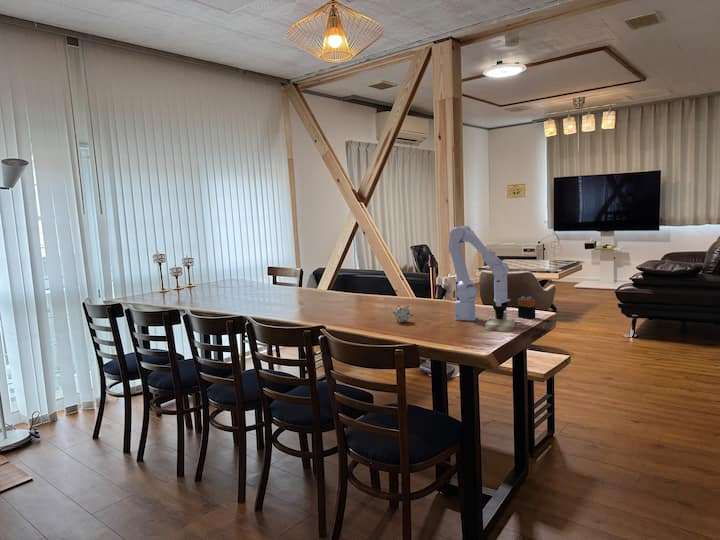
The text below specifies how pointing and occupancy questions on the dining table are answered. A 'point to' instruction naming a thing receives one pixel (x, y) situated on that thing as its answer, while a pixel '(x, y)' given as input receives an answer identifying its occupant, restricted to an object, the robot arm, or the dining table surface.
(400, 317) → the grey spiky ball
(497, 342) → the dining table surface
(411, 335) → the dining table surface
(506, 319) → the mint block
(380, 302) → the dining table surface
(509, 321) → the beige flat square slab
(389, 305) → the dining table surface
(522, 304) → the battery
